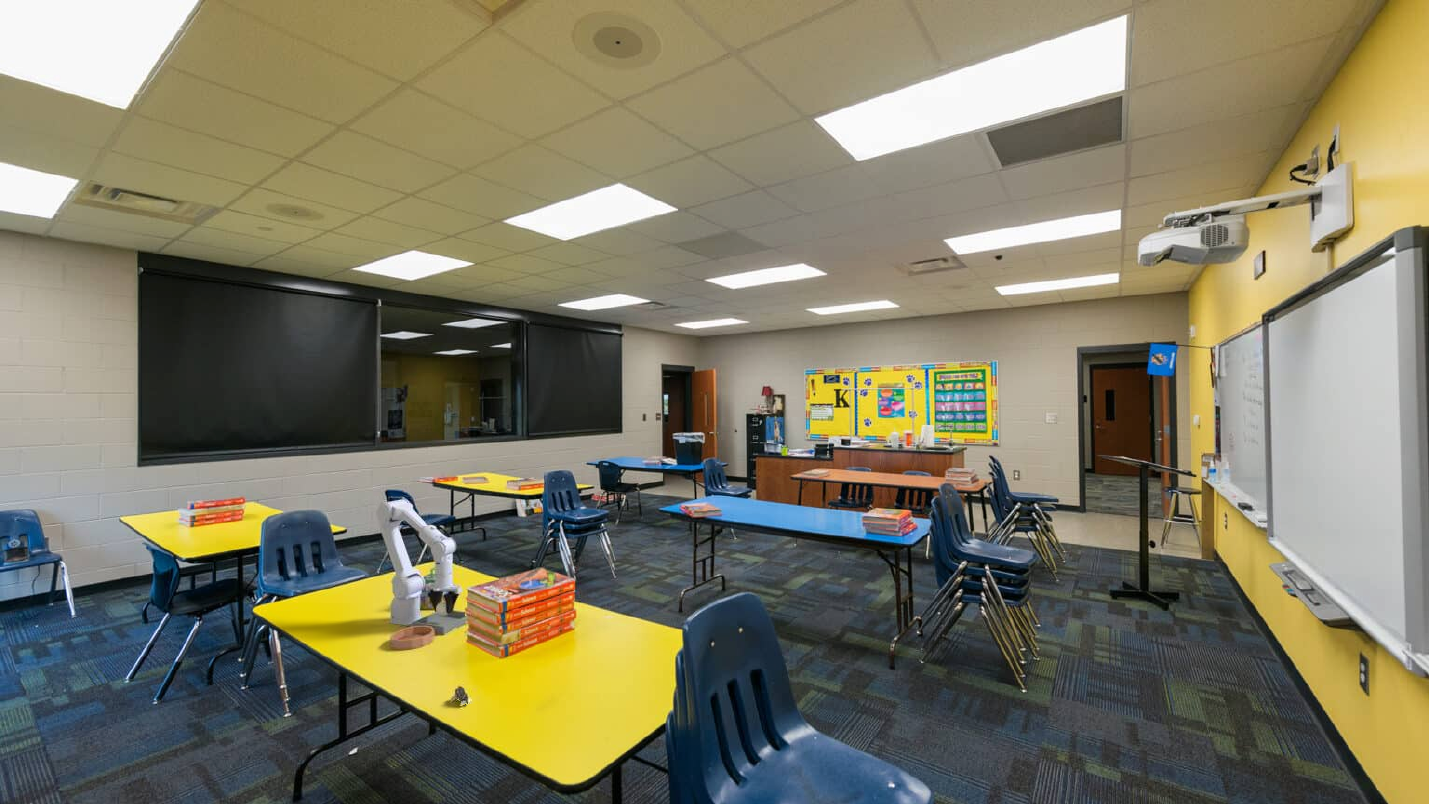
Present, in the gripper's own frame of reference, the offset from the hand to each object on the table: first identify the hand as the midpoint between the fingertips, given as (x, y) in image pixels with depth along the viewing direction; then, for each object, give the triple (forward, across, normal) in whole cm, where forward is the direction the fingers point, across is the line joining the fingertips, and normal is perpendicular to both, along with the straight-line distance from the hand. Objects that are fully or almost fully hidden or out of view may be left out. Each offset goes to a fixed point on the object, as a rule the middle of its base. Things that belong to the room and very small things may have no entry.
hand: (443, 611), depth 201 cm
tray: (+5, 0, 0) cm, 5 cm away
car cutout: (+6, +50, -42) cm, 66 cm away
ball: (-1, 0, 0) cm, 1 cm away
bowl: (+5, +2, -15) cm, 16 cm away
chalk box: (+5, -19, +15) cm, 25 cm away
